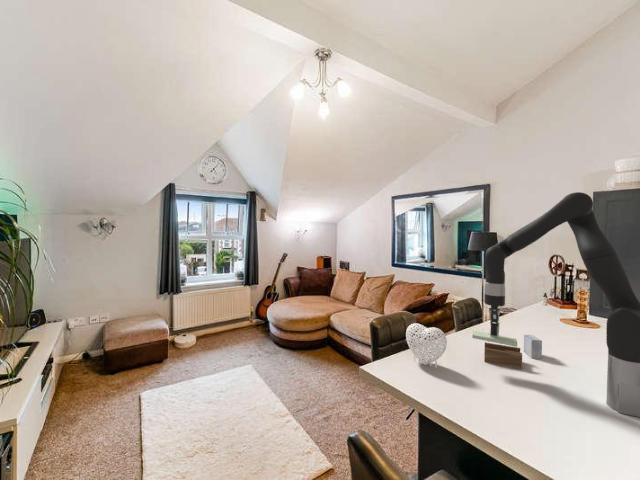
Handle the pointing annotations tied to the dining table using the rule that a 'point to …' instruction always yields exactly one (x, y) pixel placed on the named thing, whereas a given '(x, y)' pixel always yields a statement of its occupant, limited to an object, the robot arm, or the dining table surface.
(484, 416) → the dining table surface
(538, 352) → the medicine box
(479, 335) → the lid
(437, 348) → the decorative heart
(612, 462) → the dining table surface
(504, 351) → the box
